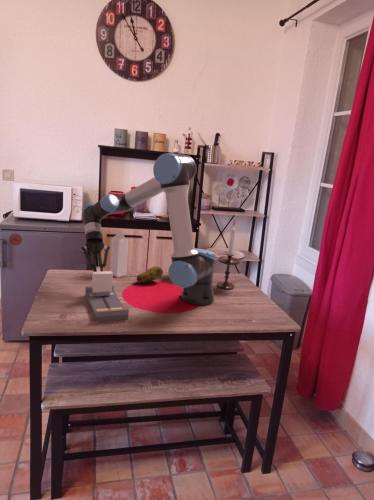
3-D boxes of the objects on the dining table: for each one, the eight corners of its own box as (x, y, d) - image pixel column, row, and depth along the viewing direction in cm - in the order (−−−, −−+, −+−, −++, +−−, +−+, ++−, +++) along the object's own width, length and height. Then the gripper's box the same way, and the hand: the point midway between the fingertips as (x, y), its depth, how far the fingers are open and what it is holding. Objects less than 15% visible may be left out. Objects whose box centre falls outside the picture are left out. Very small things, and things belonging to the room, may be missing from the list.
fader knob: (91, 292, 158) (92, 271, 155) (109, 290, 161) (110, 270, 159) (93, 296, 154) (94, 275, 151) (112, 295, 157) (113, 274, 154)
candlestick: (234, 292, 183) (244, 222, 174) (212, 287, 185) (221, 219, 176) (237, 285, 193) (247, 219, 184) (217, 281, 196) (225, 216, 187)
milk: (116, 277, 186) (119, 234, 180) (109, 273, 190) (111, 232, 184) (126, 275, 190) (129, 233, 185) (119, 271, 194) (121, 231, 188)
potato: (135, 278, 187) (137, 263, 185) (161, 279, 189) (162, 265, 187) (136, 284, 179) (137, 269, 177) (162, 285, 181) (164, 270, 179)
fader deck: (85, 295, 160) (85, 286, 159) (112, 293, 165) (113, 285, 164) (96, 322, 138) (97, 312, 136) (128, 319, 143) (128, 309, 142)
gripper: (106, 238, 174) (112, 284, 164) (77, 238, 169) (82, 286, 159) (109, 230, 168) (116, 277, 158) (79, 230, 163) (84, 278, 153)
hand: (99, 281), depth 158 cm, fingers closed
